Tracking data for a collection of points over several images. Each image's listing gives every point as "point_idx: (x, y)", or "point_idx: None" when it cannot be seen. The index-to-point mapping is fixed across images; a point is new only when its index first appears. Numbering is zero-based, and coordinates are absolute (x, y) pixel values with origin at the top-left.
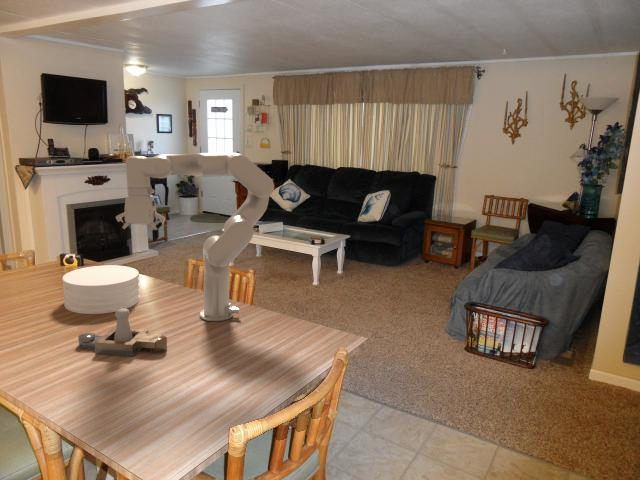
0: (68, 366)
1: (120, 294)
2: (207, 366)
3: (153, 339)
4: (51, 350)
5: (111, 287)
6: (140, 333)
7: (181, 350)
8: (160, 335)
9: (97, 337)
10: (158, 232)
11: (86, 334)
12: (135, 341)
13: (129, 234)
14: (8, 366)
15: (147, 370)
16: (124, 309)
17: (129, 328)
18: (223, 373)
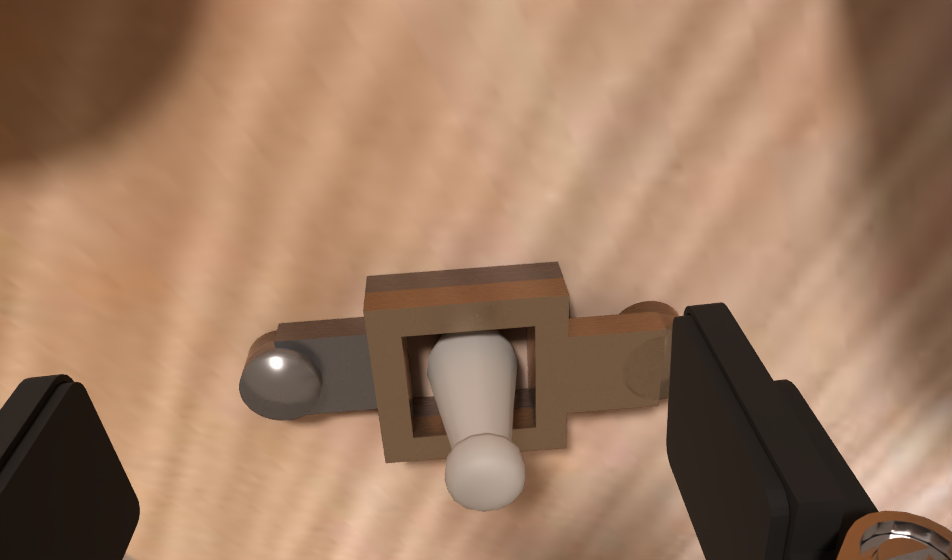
0: (352, 512)
1: None
2: (883, 404)
3: (640, 382)
4: (178, 436)
5: None
6: (547, 342)
7: (750, 313)
8: (660, 339)
9: (321, 357)
10: (841, 466)
11: (265, 377)
12: (564, 418)
13: (62, 515)
14: (142, 554)
15: (657, 473)
16: (499, 485)
17: (513, 406)
18: (948, 432)
